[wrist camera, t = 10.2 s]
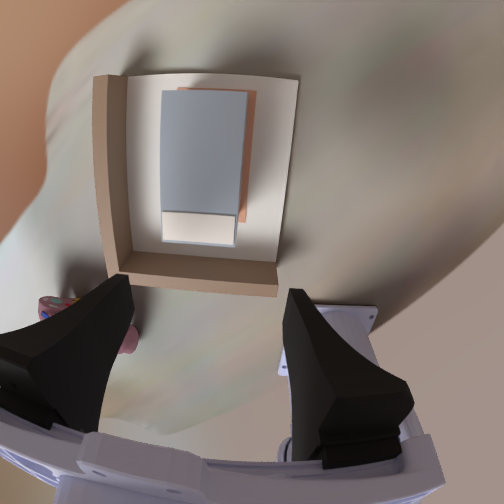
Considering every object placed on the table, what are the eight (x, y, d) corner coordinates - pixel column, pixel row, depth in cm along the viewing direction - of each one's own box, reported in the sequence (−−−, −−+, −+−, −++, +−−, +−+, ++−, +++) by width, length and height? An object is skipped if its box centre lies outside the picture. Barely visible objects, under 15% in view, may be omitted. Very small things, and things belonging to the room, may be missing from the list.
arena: (273, 269, 23) (276, 297, 20) (125, 257, 23) (109, 281, 20) (297, 81, 16) (306, 76, 13) (117, 78, 16) (93, 76, 13)
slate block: (248, 94, 16) (247, 92, 12) (239, 212, 20) (234, 248, 16) (184, 92, 16) (161, 90, 12) (181, 209, 20) (161, 242, 16)
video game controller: (147, 308, 27) (128, 329, 20) (140, 349, 27) (121, 380, 20) (62, 280, 26) (26, 292, 19) (57, 321, 26) (24, 340, 19)
